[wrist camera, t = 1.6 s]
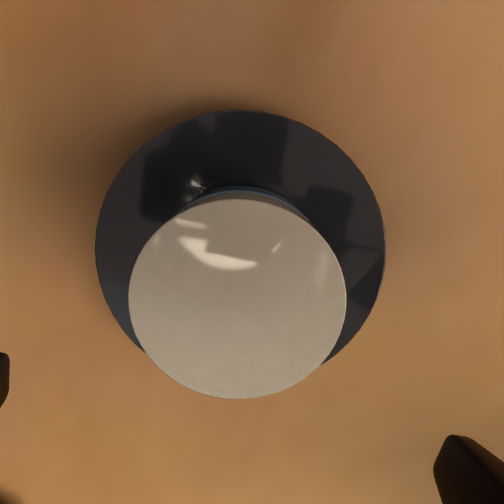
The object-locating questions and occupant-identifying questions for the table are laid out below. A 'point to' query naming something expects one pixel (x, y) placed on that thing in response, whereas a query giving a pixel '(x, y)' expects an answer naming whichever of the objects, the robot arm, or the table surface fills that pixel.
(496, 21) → the table surface
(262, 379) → the cream saucer
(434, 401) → the table surface
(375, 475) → the table surface
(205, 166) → the charcoal plate
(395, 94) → the table surface
